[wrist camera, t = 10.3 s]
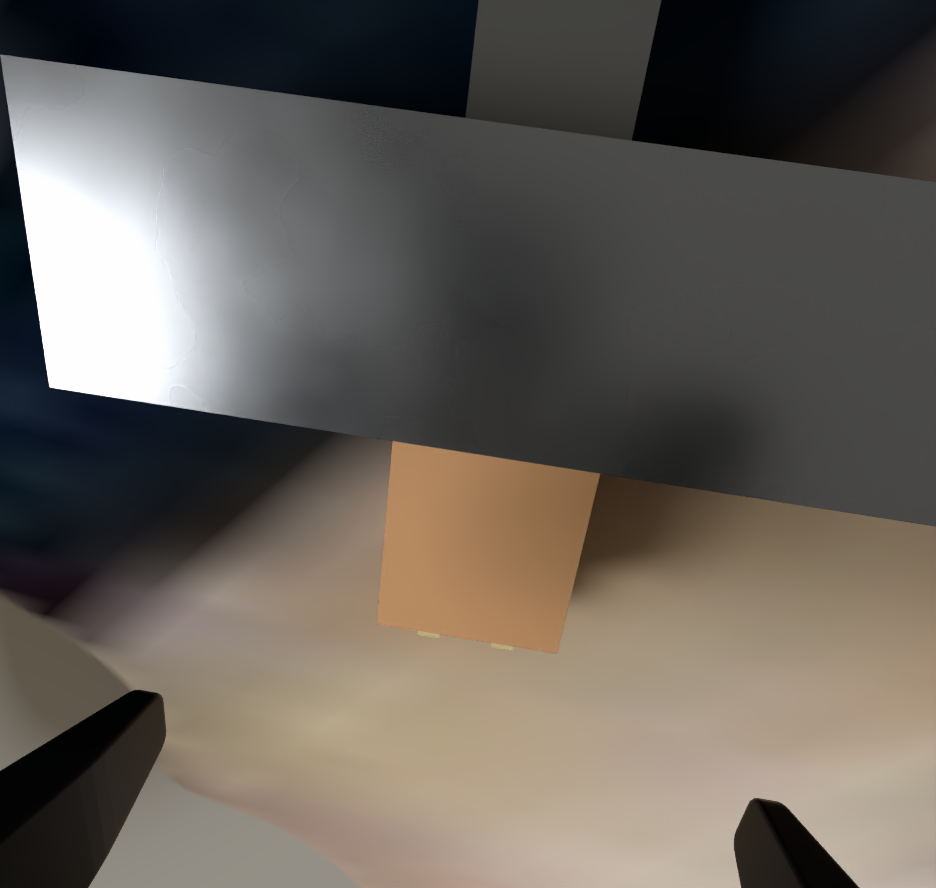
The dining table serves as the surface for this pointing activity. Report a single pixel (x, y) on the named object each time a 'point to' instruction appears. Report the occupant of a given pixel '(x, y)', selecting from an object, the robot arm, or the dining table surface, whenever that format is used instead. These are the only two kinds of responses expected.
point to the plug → (490, 478)
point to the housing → (484, 286)
